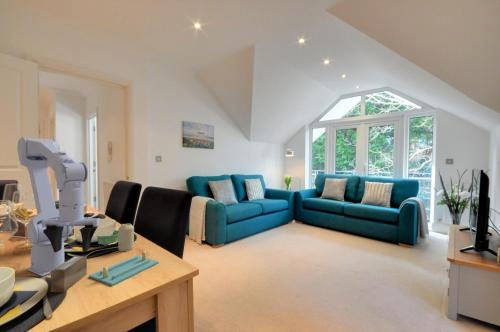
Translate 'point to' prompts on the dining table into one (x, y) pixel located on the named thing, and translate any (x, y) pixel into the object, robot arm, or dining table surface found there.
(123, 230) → the candle
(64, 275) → the walnut frame
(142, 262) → the light blue peg board
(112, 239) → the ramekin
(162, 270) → the dining table surface
